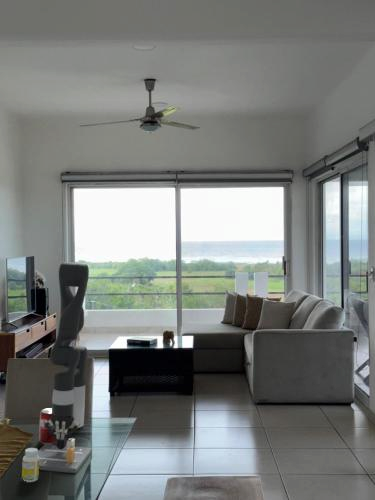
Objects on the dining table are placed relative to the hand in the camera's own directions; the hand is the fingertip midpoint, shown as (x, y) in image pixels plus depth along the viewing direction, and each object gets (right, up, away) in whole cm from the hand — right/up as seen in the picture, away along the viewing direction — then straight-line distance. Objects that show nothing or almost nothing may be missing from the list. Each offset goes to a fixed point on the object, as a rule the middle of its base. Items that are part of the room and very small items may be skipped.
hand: (60, 448), depth 214 cm
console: (0, -3, -4) cm, 5 cm away
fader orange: (+5, -1, -9) cm, 10 cm away
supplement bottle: (-5, -3, -22) cm, 22 cm away
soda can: (-8, -2, +14) cm, 16 cm away
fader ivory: (+4, -1, 0) cm, 4 cm away
